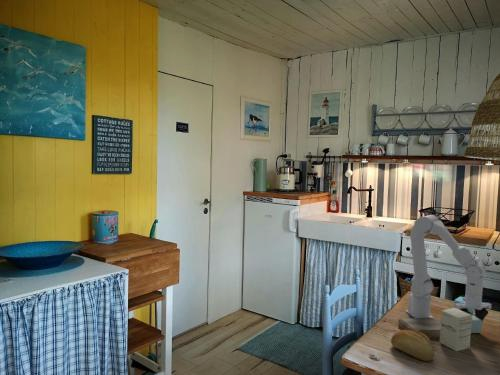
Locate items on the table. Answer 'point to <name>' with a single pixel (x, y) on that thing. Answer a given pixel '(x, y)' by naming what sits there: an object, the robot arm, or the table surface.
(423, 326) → the wooden tray
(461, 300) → the light blue knobbed box
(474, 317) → the dusty blue block
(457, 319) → the supplement box
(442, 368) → the table surface
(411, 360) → the table surface
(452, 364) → the table surface
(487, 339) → the table surface
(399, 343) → the bread roll
